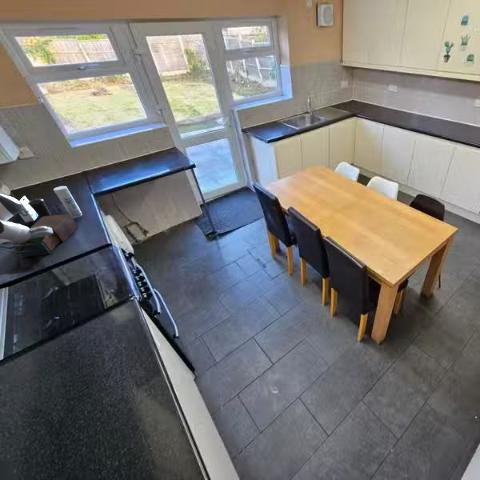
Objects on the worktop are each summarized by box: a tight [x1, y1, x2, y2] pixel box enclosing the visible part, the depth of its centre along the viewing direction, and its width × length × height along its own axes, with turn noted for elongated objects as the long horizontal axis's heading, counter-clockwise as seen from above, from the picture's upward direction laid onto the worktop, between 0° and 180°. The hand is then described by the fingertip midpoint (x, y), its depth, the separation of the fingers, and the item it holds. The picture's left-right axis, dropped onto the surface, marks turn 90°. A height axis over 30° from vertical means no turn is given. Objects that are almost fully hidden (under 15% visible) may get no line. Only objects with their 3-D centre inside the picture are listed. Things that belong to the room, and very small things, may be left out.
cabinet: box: [30, 213, 79, 244], centre depth 161 cm, size 17×15×10 cm
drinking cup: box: [28, 191, 53, 219], centre depth 172 cm, size 8×8×20 cm
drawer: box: [13, 232, 61, 258], centre depth 150 cm, size 20×13×8 cm, turn 10°
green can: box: [29, 237, 44, 243], centre depth 149 cm, size 6×6×8 cm
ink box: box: [18, 195, 40, 223], centre depth 175 cm, size 8×5×15 cm, turn 25°
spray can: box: [53, 185, 83, 219], centre depth 175 cm, size 6×6×20 cm
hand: (36, 237), depth 150 cm, fingers closed on green can, 5 cm apart
